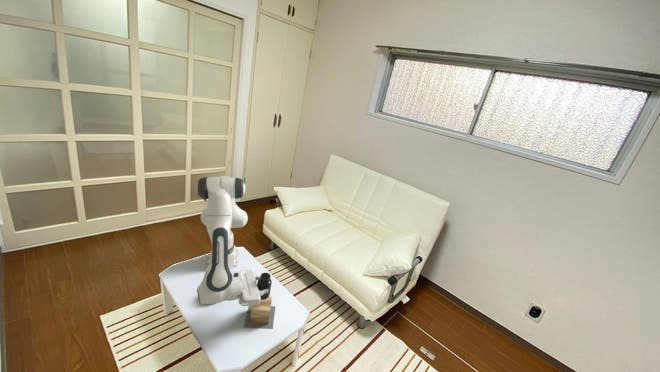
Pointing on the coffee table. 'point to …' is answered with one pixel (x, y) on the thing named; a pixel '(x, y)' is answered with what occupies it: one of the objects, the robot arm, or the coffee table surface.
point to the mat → (264, 326)
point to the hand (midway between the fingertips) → (266, 284)
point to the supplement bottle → (264, 284)
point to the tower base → (259, 320)
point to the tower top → (262, 308)
